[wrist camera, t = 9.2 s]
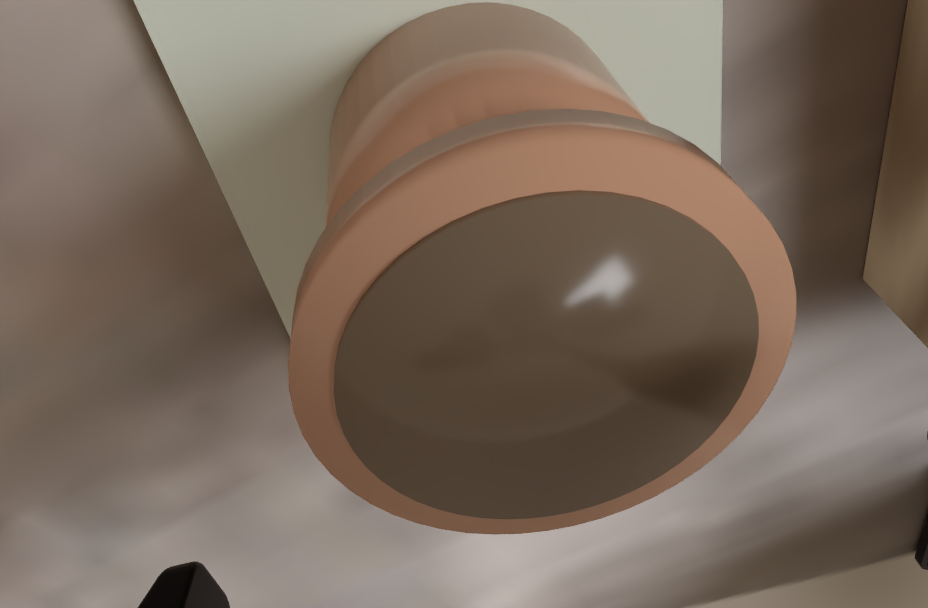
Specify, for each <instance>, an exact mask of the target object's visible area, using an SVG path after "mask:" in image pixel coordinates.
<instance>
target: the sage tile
mask: <svg viewBox="0 0 928 608" xmlns="http://www.w3.org/2000/svg"><path fill="white" fill-rule="evenodd" d="M133 1H134V3H135V5H136V7H137V9H138V11H139V14H140V16H141V18H142V20H143V22H144V24H145V26H146V29H147V31H148V33H149V35H150V37H151V39H152V42H153V44H154V46H155V48H156V50H157V52H158V54H159V57H160V59H161V61H162V63H163V65H164V67H165V70H166V72H167V74H168V76H169V78H170V80H171V82H172V85H173V87H174V89H175V91H176V93H177V95H178V98H179V100H180V102H181V104H182V106H183V108H184V110H185V113H186V115H187V117H188V119H189V121H190V123H191V125H192V128H193V130H194V132H195V134H196V136H197V138H198V141H199V143H200V145H201V147H202V149H203V151H204V153H205V156H206V158H207V160H208V162H209V164H210V166H211V169H212V171H213V173H214V175H215V177H216V179H217V181H218V184H219V186H220V188H221V190H222V192H223V194H224V197H225V199H226V201H227V203H228V205H229V207H230V209H231V212H232V214H233V216H234V218H235V220H236V222H237V225H238V227H239V229H240V231H241V233H242V235H243V237H244V240H245V242H246V244H247V246H248V248H249V250H250V252H251V255H252V257H253V259H254V261H255V263H256V265H257V268H258V270H259V272H260V274H261V276H262V278H263V280H264V283H265V285H266V287H267V289H268V291H269V293H270V296H271V298H272V300H273V302H274V304H275V306H276V308H277V311H278V313H279V315H280V317H281V319H282V321H283V324H284V326H285V328H286V330H287V332H288V334H289V336H290V339H291V331H292V321H293V313H294V306H295V300H296V293H297V288H298V285H299V282H300V279H301V276H302V273H303V270H304V267H305V264H306V262H307V260H308V258H309V256H310V254H311V252H312V250H313V248H314V246H315V244H316V242H317V241H318V239H319V237H320V235H321V234H322V232H323V231H324V230H325V228H326V206H327V184H328V162H329V141H330V132H331V125H332V119H333V116H334V112H335V109H336V106H337V103H338V100H339V97H340V95H341V93H342V91H343V89H344V87H345V85H346V83H347V81H348V79H349V78H350V76H351V75H352V73H353V72H354V70H355V69H356V67H357V66H358V64H359V63H360V62H361V61H362V60H363V59H364V58H365V56H366V55H367V54H368V53H369V52H370V51H371V50H372V49H373V48H374V47H375V46H376V45H377V44H378V43H380V42H381V41H382V40H383V39H384V38H385V37H386V36H388V35H389V34H390V33H392V32H394V31H395V30H397V29H398V28H400V27H401V26H403V25H404V24H406V23H408V22H410V21H412V20H414V19H416V18H418V17H420V16H422V15H424V14H427V13H430V12H433V11H436V10H439V9H442V8H445V7H450V6H456V5H461V4H467V3H487V2H490V3H501V4H511V5H515V6H519V7H523V8H527V9H531V10H533V11H536V12H538V13H541V14H543V15H546V16H548V17H551V18H552V19H554V20H556V21H557V22H559V23H561V24H563V25H564V26H566V27H567V28H569V29H570V30H571V31H572V32H574V33H575V34H576V35H577V36H579V37H580V38H581V39H582V40H583V41H584V42H585V43H586V44H587V45H588V46H589V47H590V49H591V50H592V51H593V52H594V53H595V54H596V55H597V57H598V58H599V59H600V60H601V62H602V63H603V64H604V66H605V67H606V68H607V69H608V71H609V72H610V73H611V74H612V76H613V77H614V78H615V80H616V81H617V82H618V83H619V85H620V86H621V87H622V88H623V90H624V91H625V92H626V94H627V95H628V96H629V97H630V99H631V100H632V101H633V102H634V104H635V105H636V106H637V108H638V109H639V110H640V111H641V113H642V114H643V115H644V116H645V118H646V119H647V120H648V122H649V123H651V124H654V125H656V126H659V127H662V128H665V129H667V130H669V131H671V132H673V133H675V134H676V135H678V136H680V137H682V138H684V139H685V140H687V141H689V142H691V143H693V144H695V145H696V146H697V147H698V148H700V149H701V150H702V151H704V152H705V153H706V154H707V155H709V156H710V157H711V158H712V159H714V160H715V161H716V162H717V163H718V164H719V165H720V166H721V103H722V23H723V0H133Z"/></svg>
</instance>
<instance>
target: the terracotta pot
mask: <svg viewBox="0 0 928 608" xmlns="http://www.w3.org/2000/svg"><path fill="white" fill-rule="evenodd" d="M795 322H796V288H795V283H794V277H793V271H792V267H791V264H790V261H789V259H788V256H787V253H786V251H785V248H784V245H783V243H782V241H781V240H780V238H779V237H778V235H777V233H776V232H775V230H774V228H773V227H772V225H771V223H770V222H769V220H768V219H767V218H766V217H765V216H764V215H763V213H762V212H761V211H760V210H759V209H758V208H757V206H756V205H755V204H754V203H753V202H752V201H751V200H750V198H749V197H748V196H747V195H746V194H745V193H744V192H743V190H742V189H741V188H740V187H739V186H738V185H737V184H736V182H735V181H734V180H733V179H732V178H731V177H730V176H729V175H728V174H727V172H726V171H725V170H724V169H723V168H722V167H721V166H720V165H719V164H718V163H717V162H716V161H715V160H714V159H712V158H711V157H710V156H709V155H707V154H706V153H705V152H704V151H702V150H701V149H700V148H698V147H697V146H696V145H695V144H693V143H691V142H689V141H687V140H685V139H684V138H682V137H680V136H678V135H676V134H675V133H673V132H671V131H669V130H667V129H665V128H662V127H659V126H656V125H654V124H651V123H649V122H648V120H647V119H646V118H645V116H644V115H643V114H642V113H641V111H640V110H639V109H638V108H637V106H636V105H635V104H634V102H633V101H632V100H631V99H630V97H629V96H628V95H627V94H626V92H625V91H624V90H623V88H622V87H621V86H620V85H619V83H618V82H617V81H616V80H615V78H614V77H613V76H612V74H611V73H610V72H609V71H608V69H607V68H606V67H605V66H604V64H603V63H602V62H601V60H600V59H599V58H598V57H597V55H596V54H595V53H594V52H593V51H592V50H591V49H590V47H589V46H588V45H587V44H586V43H585V42H584V41H583V40H582V39H581V38H580V37H579V36H577V35H576V34H575V33H574V32H572V31H571V30H570V29H569V28H567V27H566V26H564V25H563V24H561V23H559V22H557V21H556V20H554V19H552V18H551V17H548V16H546V15H543V14H541V13H538V12H536V11H533V10H531V9H527V8H523V7H519V6H515V5H511V4H501V3H490V2H487V3H467V4H461V5H456V6H450V7H445V8H442V9H439V10H436V11H433V12H430V13H427V14H424V15H422V16H420V17H418V18H416V19H414V20H412V21H410V22H408V23H406V24H404V25H403V26H401V27H400V28H398V29H397V30H395V31H394V32H392V33H390V34H389V35H388V36H386V37H385V38H384V39H383V40H382V41H381V42H380V43H378V44H377V45H376V46H375V47H374V48H373V49H372V50H371V51H370V52H369V53H368V54H367V55H366V56H365V58H364V59H363V60H362V61H361V62H360V63H359V64H358V66H357V67H356V69H355V70H354V72H353V73H352V75H351V76H350V78H349V79H348V81H347V83H346V85H345V87H344V89H343V91H342V93H341V95H340V97H339V100H338V103H337V106H336V109H335V112H334V116H333V119H332V125H331V132H330V141H329V162H328V184H327V206H326V228H325V230H324V231H323V232H322V234H321V235H320V237H319V239H318V241H317V242H316V244H315V246H314V248H313V250H312V252H311V254H310V256H309V258H308V260H307V262H306V264H305V267H304V270H303V273H302V276H301V279H300V282H299V285H298V288H297V293H296V300H295V306H294V313H293V321H292V331H291V342H290V352H289V391H290V396H291V401H292V406H293V411H294V414H295V417H296V419H297V422H298V424H299V427H300V429H301V432H302V434H303V437H304V438H305V440H306V441H307V443H308V445H309V446H310V448H311V449H312V451H313V453H314V454H315V456H316V457H317V458H318V460H319V461H320V462H321V463H322V464H323V465H324V466H325V468H326V469H327V470H328V471H329V472H330V473H331V475H333V476H334V477H335V478H336V479H337V480H338V481H340V482H341V483H342V484H343V485H344V486H345V487H347V488H348V489H349V490H350V491H352V492H353V493H355V494H356V495H358V496H359V497H361V498H363V499H364V500H366V501H367V502H369V503H370V504H372V505H374V506H376V507H378V508H380V509H383V510H385V511H387V512H389V513H391V514H393V515H396V516H398V517H401V518H404V519H407V520H410V521H412V522H415V523H419V524H423V525H427V526H431V527H435V528H439V529H445V530H451V531H458V532H465V533H479V534H521V533H531V532H540V531H548V530H554V529H559V528H564V527H569V526H575V525H578V524H582V523H586V522H589V521H593V520H597V519H600V518H603V517H606V516H609V515H612V514H615V513H617V512H620V511H623V510H626V509H628V508H631V507H633V506H635V505H637V504H640V503H642V502H644V501H646V500H648V499H651V498H653V497H655V496H656V495H658V494H660V493H662V492H664V491H666V490H667V489H669V488H671V487H673V486H675V485H676V484H678V483H680V482H681V481H683V480H684V479H686V478H687V477H689V476H690V475H692V474H693V473H695V472H696V471H698V470H699V469H700V468H702V467H703V466H704V465H705V464H707V463H708V462H709V461H710V460H712V459H713V458H714V457H715V456H717V455H718V454H719V453H720V452H722V451H723V450H724V449H725V448H726V447H727V446H728V445H729V444H730V443H731V442H732V441H733V440H734V439H735V438H736V437H737V436H738V435H739V434H740V433H741V432H742V431H743V429H744V428H745V427H746V426H747V425H748V424H749V422H750V421H751V420H752V419H753V418H754V416H755V415H756V414H757V413H758V411H759V410H760V408H761V407H762V405H763V404H764V402H765V401H766V399H767V398H768V396H769V395H770V393H771V392H772V390H773V388H774V386H775V384H776V382H777V380H778V378H779V376H780V374H781V372H782V370H783V368H784V365H785V362H786V359H787V356H788V353H789V350H790V347H791V344H792V339H793V334H794V328H795Z"/></svg>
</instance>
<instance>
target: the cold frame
mask: <svg viewBox="0 0 928 608" xmlns="http://www.w3.org/2000/svg"><path fill="white" fill-rule="evenodd" d="M863 280H864V281H865V282H866V283H867V284H868V285H869V286H870V287H871V288H872V289H873V290H874V291H875V293H876V294H877V295H878V296H879V297H880V298H881V299H882V300H883V301H884V302H885V303H886V304H887V305H888V306H889V307H890V308H891V309H892V311H893V312H894V313H895V314H896V315H897V316H898V317H899V318H900V319H901V320H902V321H903V322H904V323H905V324H906V325H907V326H908V327H909V328H910V330H911V331H912V332H913V333H914V334H915V335H916V336H917V337H918V338H919V339H920V340H921V341H922V342H923V343H924V344H925V345H926V346H927V348H928V0H908V3H907V9H906V15H905V21H904V27H903V34H902V40H901V46H900V52H899V58H898V64H897V71H896V77H895V83H894V89H893V95H892V101H891V108H890V114H889V120H888V126H887V132H886V138H885V145H884V151H883V157H882V163H881V169H880V175H879V181H878V188H877V194H876V200H875V206H874V212H873V218H872V225H871V231H870V237H869V243H868V249H867V255H866V262H865V268H864V274H863Z"/></svg>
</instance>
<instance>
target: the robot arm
mask: <svg viewBox="0 0 928 608" xmlns="http://www.w3.org/2000/svg"><path fill="white" fill-rule="evenodd" d="M927 438H928V433H927ZM915 559H916V561H917V562H918V564H919V565H920V566H921V567H922V568H923V569H927V570H928V515H927V518H926V521H925V525H924V528H923V531H922V535H921V538H920V541H919V544H918V548H917V551H916V554H915ZM138 608H230V605H229V602H228V599H227V596H226V595H225V593H224V592H223V590H222V589H221V588H220V586H219V585H218V584H217V582H216V581H215V580H214V578H213V577H212V576H211V574H210V573H209V572H208V571H207V569H206V568H205V567H204V566H203V564H201V563H199V562H189V563H185V564H181V565H177V566H172V567H169V568H167V569H166V570H164V571H163V572H162V573H161V574H160V575H159V577H158V578H157V580H156V581H155V583H154V584H153V586H152V587H151V589H150V590H149V592H148V593H147V595H146V596H145V598H144V599H143V601H142V602H141V604H140V605H139V607H138Z"/></svg>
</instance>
